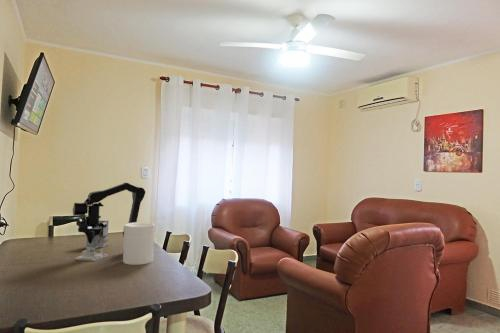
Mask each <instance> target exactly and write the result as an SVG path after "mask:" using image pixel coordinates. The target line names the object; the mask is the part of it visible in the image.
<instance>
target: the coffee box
mask: <svg viewBox="0 0 500 333" xmlns="http://www.w3.org/2000/svg"><path fill="white" fill-rule="evenodd" d="M99 222H106V223H107V227H105V228H103V227H101V228H103V230H102V232H101V233H100V235H99V241H98V248H104V247H105V248H106V247H108V245H109V244H108V242H109V239H108V238H109V220H100V219H99Z"/></svg>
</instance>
